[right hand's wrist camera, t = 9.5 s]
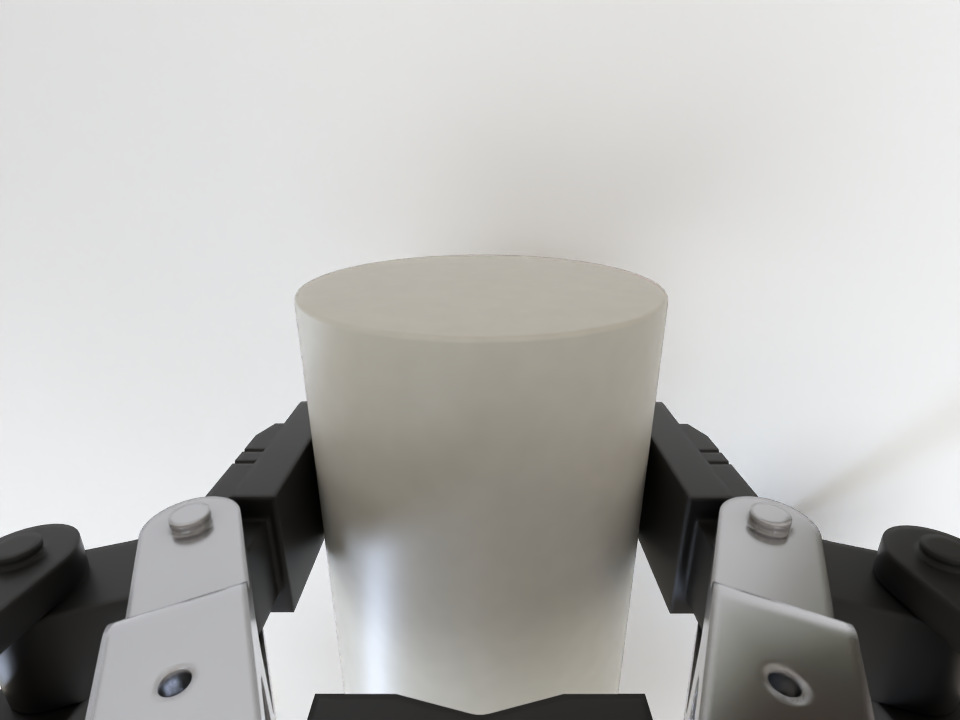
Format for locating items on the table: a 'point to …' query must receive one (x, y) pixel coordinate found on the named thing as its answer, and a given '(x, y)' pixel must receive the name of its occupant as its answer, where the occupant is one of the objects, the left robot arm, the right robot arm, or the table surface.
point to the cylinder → (481, 470)
